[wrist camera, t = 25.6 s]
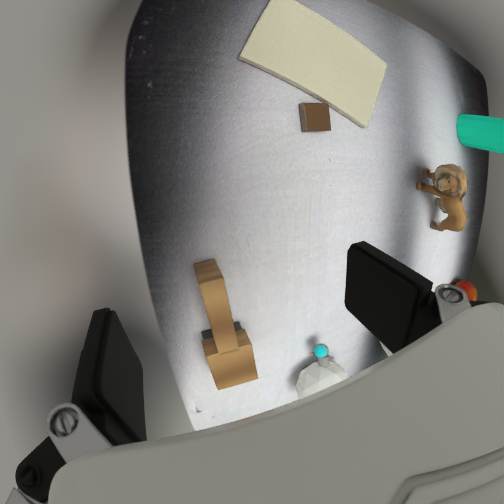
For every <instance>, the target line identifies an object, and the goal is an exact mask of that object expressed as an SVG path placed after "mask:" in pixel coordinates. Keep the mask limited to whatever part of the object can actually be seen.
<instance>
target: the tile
mask: <svg viewBox="0 0 504 504" xmlns="http://www.w3.org/2000/svg"><path fill="white" fill-rule="evenodd" d="M238 59H239V60H242V61H244V62H246V63H249V64H251V65H253V66H255V67H258V68H260V69H262V70H264V71H266V72H268V73H270V74H272V75H274V76H277V77H279V78H281V79H282V80H284V81H286V82H288V83H290V84H292V85H294V86H296V87H298V88H299V89H301V90H303V91H305V92H307V93H308V94H310V95H312V96H314V97H315V98H317V99H319V100H320V101H322V102H324V103H328V105H329V106H330V107H332V108H333V109H335V110H337V111H338V112H340V113H341V114H343V115H344V116H346V117H347V118H349V119H350V120H352V121H353V122H355V123H356V124H358V125H359V126H360V127H362V128H367V127H368V124H369V121H370V118H371V115H372V112H373V109H374V106H375V103H376V100H377V97H378V94H379V91H380V88H381V84H382V81H383V78H384V75H385V71H386V68H387V64H386V63H385V62H384V61H383V60H382V59H380V58H379V57H378V56H377V55H376V54H374V53H373V52H372V51H371V50H369V49H368V48H367V47H366V46H364V45H363V44H362V43H360V42H359V41H358V40H356V39H355V38H354V37H352V36H351V35H349V34H348V33H347V32H345V31H344V30H342V29H341V28H339V27H338V26H336V25H335V24H333V23H332V22H330V21H329V20H327V19H325V18H324V17H322V16H321V15H319V14H317V13H316V12H314V11H312V10H310V9H309V8H307V7H305V6H303V5H302V4H300V3H298V2H296V1H294V0H270V1H269V2H268V4H267V6H266V7H265V9H264V11H263V12H262V14H261V16H260V18H259V19H258V21H257V23H256V25H255V26H254V28H253V30H252V32H251V34H250V36H249V37H248V39H247V41H246V43H245V45H244V47H243V49H242V51H241V53H240V55H239V57H238Z"/></svg>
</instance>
